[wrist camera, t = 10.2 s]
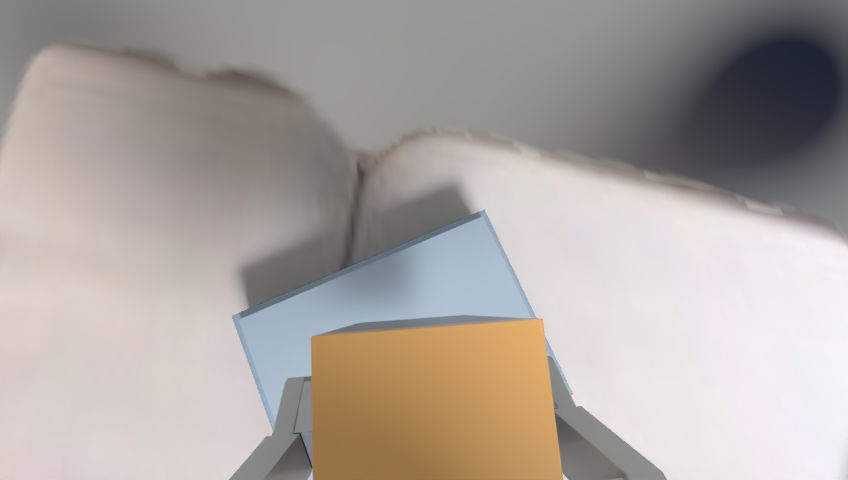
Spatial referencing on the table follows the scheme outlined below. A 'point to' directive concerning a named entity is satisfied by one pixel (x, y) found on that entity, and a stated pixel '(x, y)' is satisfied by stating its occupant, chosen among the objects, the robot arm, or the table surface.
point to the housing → (434, 401)
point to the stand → (383, 299)
